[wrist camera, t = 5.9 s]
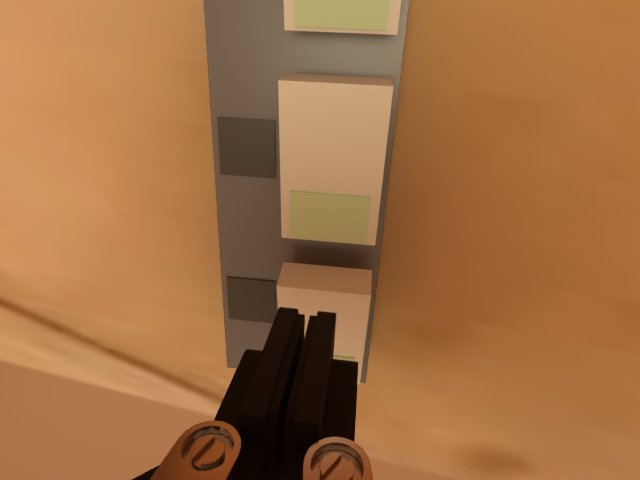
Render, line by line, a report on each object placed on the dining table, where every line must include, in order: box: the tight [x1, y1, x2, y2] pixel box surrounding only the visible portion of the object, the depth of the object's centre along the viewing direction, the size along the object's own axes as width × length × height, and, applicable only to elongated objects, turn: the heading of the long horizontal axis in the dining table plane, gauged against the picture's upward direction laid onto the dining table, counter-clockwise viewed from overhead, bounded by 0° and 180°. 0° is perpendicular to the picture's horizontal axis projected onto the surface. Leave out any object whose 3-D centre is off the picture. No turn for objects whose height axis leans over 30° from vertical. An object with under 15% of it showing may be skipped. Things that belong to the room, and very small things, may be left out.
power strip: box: [204, 0, 409, 383], centre depth 23 cm, size 10×40×5 cm, turn 177°
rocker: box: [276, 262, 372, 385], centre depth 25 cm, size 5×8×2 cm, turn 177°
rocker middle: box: [278, 73, 393, 246], centre depth 21 cm, size 5×8×2 cm, turn 177°
